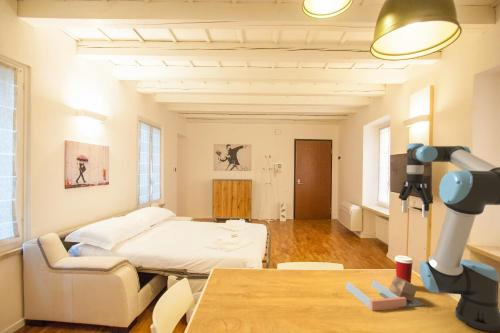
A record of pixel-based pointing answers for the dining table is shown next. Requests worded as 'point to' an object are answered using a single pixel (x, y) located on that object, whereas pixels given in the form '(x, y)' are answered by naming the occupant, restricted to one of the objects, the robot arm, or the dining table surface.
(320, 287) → the dining table surface
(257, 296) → the dining table surface
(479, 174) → the robot arm
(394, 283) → the block
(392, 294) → the channel
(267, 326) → the dining table surface
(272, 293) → the dining table surface
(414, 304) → the coaster
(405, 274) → the coffee cup
